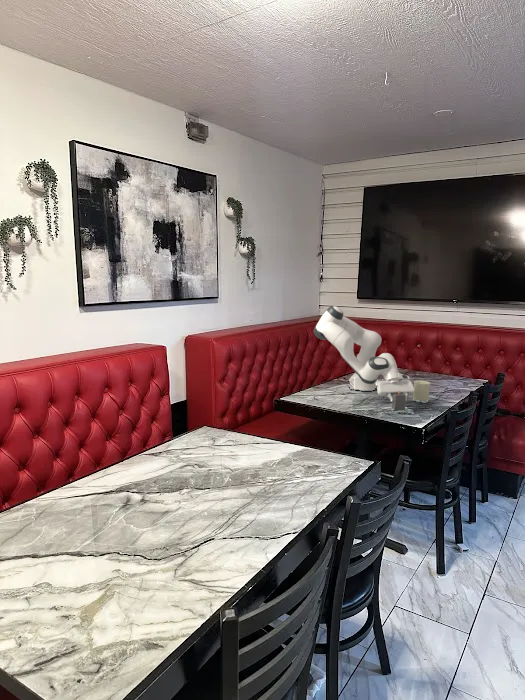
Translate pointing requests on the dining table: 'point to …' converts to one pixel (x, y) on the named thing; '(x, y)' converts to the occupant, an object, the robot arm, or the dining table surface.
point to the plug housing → (399, 401)
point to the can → (421, 390)
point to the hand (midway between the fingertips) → (399, 401)
